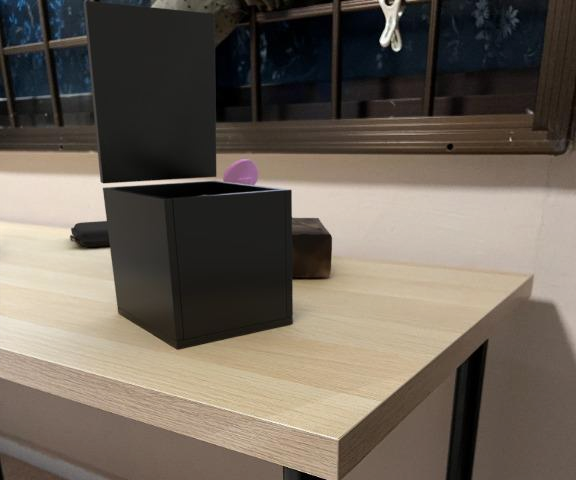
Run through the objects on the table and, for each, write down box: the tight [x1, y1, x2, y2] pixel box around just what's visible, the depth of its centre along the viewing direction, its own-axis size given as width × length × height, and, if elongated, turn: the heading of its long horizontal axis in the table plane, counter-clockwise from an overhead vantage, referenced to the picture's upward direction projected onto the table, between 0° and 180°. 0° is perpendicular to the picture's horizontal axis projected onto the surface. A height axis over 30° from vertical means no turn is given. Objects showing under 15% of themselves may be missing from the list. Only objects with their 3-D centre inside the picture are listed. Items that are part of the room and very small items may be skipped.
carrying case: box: [69, 220, 110, 248], centre depth 114 cm, size 11×3×15 cm
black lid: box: [83, 0, 217, 184], centre depth 66 cm, size 16×14×6 cm
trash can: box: [102, 180, 294, 350], centre depth 65 cm, size 16×14×14 cm
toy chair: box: [222, 158, 259, 185], centre depth 99 cm, size 8×9×15 cm
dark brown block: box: [292, 217, 333, 279], centre depth 91 cm, size 8×19×7 cm, turn 2°
